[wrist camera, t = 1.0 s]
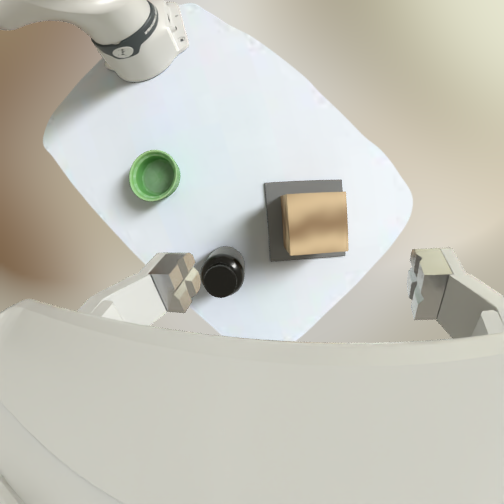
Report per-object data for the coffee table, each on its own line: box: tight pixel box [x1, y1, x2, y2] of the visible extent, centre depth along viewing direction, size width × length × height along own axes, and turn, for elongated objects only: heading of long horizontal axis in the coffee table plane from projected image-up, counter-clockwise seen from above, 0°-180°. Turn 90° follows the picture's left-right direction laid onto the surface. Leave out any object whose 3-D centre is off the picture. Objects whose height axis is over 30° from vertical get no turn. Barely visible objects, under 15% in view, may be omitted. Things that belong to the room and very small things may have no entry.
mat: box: [265, 180, 345, 261], centre depth 50 cm, size 14×14×1 cm
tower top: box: [283, 192, 348, 256], centre depth 43 cm, size 9×9×4 cm
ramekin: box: [129, 150, 180, 202], centre depth 46 cm, size 9×9×4 cm
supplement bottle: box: [201, 246, 245, 298], centre depth 45 cm, size 7×7×12 cm
